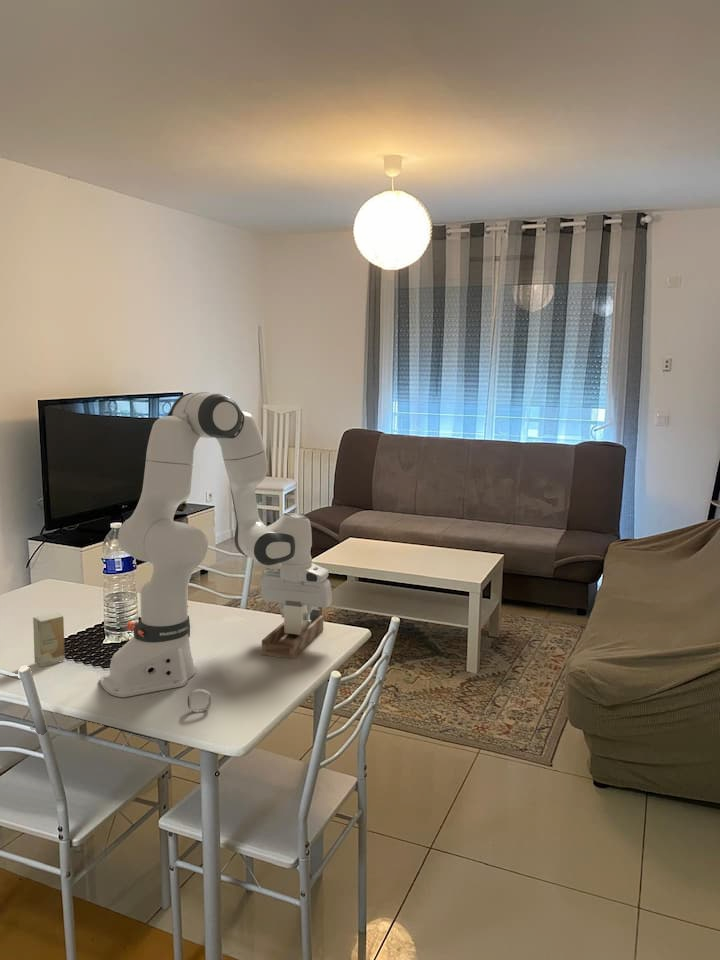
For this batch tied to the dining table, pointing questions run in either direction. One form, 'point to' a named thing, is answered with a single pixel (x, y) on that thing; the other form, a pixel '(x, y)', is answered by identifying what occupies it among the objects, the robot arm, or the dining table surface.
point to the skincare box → (48, 639)
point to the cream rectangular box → (294, 617)
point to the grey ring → (190, 700)
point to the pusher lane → (292, 638)
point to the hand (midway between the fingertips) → (295, 618)
